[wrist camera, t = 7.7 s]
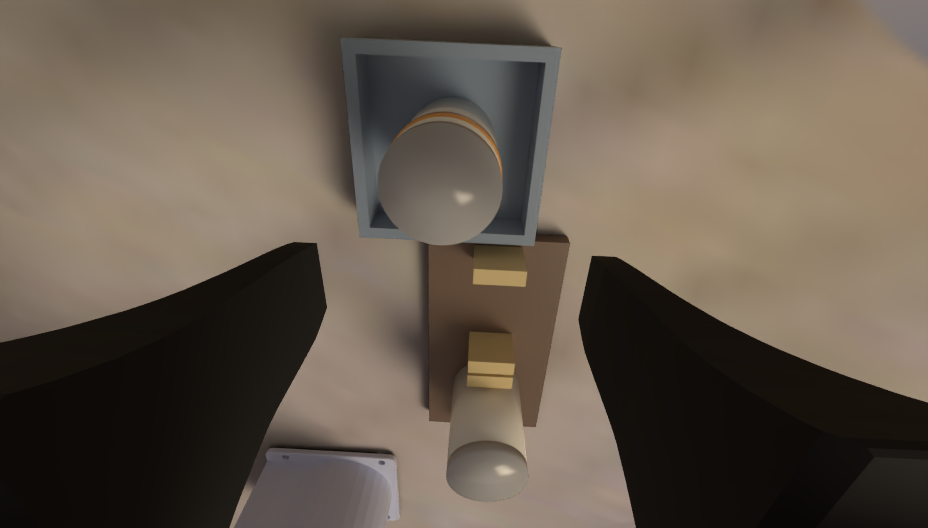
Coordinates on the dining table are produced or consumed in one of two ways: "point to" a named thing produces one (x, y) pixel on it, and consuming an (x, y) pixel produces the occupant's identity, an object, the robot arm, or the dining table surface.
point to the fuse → (486, 442)
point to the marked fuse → (443, 173)
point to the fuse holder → (493, 318)
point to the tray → (452, 75)
